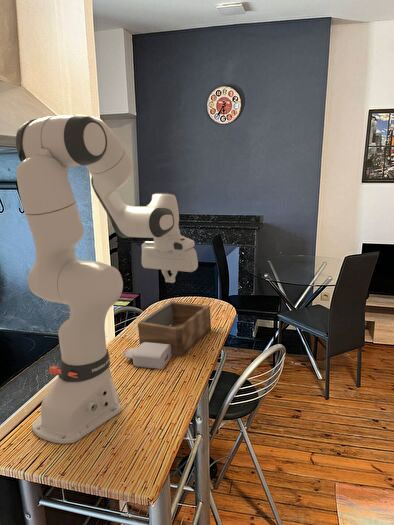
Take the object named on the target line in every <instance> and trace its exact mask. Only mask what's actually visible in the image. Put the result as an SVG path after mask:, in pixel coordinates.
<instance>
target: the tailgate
mask: <svg viewBox="0 0 394 525" xmlns="http://www.w3.org/2000/svg"><path fill="white" fill-rule="evenodd" d="M140 321H141V322H148V323H154V324H160V325H166V326H171V324H173V313H172V303H170V302H168V303H166V304H165V305H163V306H162V307H160V308H158V309H157V310H155V311H153V312H152V313H151V314H149V315H148V316H146V317H144V318H142V319H141V320H140Z"/></svg>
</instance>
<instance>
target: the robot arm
mask: <svg viewBox="0 0 394 525" xmlns="http://www.w3.org/2000/svg"><path fill="white" fill-rule="evenodd" d="M15 146H16V151H17V153H18V154H17V157H18V159H19V162H20V163H19V164H18V165H17V167H16V171H15V175H16V182H17V183H16V184H17V188H18V193H19V194H18V195H19V199H20V202H21V206H22V208H23V211H24V214H25V218H26V220H27V223H28V226H29V229H30V232H31V236H32V239H33V243H34V246H35V262H34V264H32V267H31V268H30V270H29V271H28V272H29V273H28V276H27V283H28V287H29V288H28V289H29V290H30V291H31V293H32V294H34V296H37V297H38V298H40V299H42V300H45V301H48V302H50V303H57V304H62V305H67V306H68V308H69V318H68V319H66V320H65V321H64V322H63V323H62V324H61V326H59V329H58V333H57V335H58V340H59V341H58V342H59V347H60V348H59V349H60V355H61V358H60V362H59V366H55V365H52V366H50V368H49V371H48V372H49V374H50V375H54V376H58V377H57V378H56V379H55V381H54V383H53V384H52V386H51V387H50V389H49V391H48V393H46V394H45V395H46V396H45V397H44V398H43V400H42V402H41V405H40V416H39V417H38V418H37V419H36V420H35V421H34V422H33V423H32V425H31V429H32V432H33V434H34V435H36V436H37V437H38V438H41V439H43V440H45V441H48V442H50V443H51V442H52V443H55V444H56V443H57V444H65V445H66V444H73V443H76V442H79V440H81V439H82V438H84V437H85V436H86V435H88V434H90V433H91V432H93V431H94V430H96V429H97V428H99V427H100V426H101V425H103V424H104V423H106V422H107V421H109V420H111V419H112V418H113V417H115V416H116V415H117V414H119V413H120V412H122V406H121V403H120V396H119V393H118V392H117V389H116V387H115V383H114V379H113V376H112V373H111V372H112V371H111V369H110V366H111V358H110V357H111V356H110V353H109V349H107V342H106V331H105V329H106V328H105V327H106V326H105V325H106V317H107V314H108V312H109V310H110V309H111V307H112V306H114V305H115V304H116V303H117V302H118V301H119V299H120V297H121V296H122V292H123V289H124V281H123V277H122V274H121V272H120V271H119V270H118V269H117V268H116V267H114V266H113V265H110V264H106V263H103V262H100V261H93V260H81V259H78V257H77V255H76V249H75V248H76V245H77V244H78V243H79V242H80V241H81V240H82V238H83V236H84V226H83V225H84V224H83V221H82V219H81V216H80V212H79V208H78V204H77V202H76V198H75V195H74V191H73V189H72V186H71V184H70V182H69V177H68V175H69V174H68V173H69V169H70V168H72V167H78V166H84V167H85V169H86V170H87V171H88V173H89V174H90V176H91V178H90V180H91V181H90V182H91V187H92V189H93V192H94V194H95V195H96V198H97V199H98V200H99V203H100V204H101V206H102V208H103V209H104V211H105V213H106V215H107V216H108V218H109V220H110V223H111V226H112V229H113V231H114V232H115V234H116V235H117V236H118V237H120V238H123V239H126V238H127V239H128V238H142V239H144V238H145V239H146V238H147V239H149V238H150V239H153V241H149V240H145V241H144V242H143V243H142V244H141V266H142V267H143V268H144V269H153V270H161V273H162V275H163V277H164V282H165V283H170V284H174V283H175V282H176V276H177V274H178V272H187V273H193V272H195V271H196V270H197V269H198V267H199V262H198V254H197V250H196V249H195V248H194V247H195V240H193V239H191V238H188V237H185V236H183V235H181V230H180V227H179V223H180V214H179V211H180V210H179V205H178V201H177V197H176V195H175V194H173V193H170V192H155V193H152V195H151V201H150V202H149V204H146V206H142V205H141V206H136V205H135V206H132V205H128V204H126V203H124V202H123V200H122V197H121V196H120V194H119V192H118V190H120V189H121V188H123V187H124V186H125V185H126V184H127V183H128V181H129V180H130V178H131V176H132V173H133V170H134V169H133V166H134V165H133V161H132V159H131V156H130V155H129V153H128V151H127V149H126V148H125V146H124V145H123V143H122V142H121V140H120V139H119V138H118V137H117V135H116V134H115V133H114V131H113V130H112V129H111V128H110V127H109V126H108V125H107V124H106V123H105V122H104V121H103V120H102V119H100V118H98V117H95V116H90V115H86V114H74V115H52V116H45V117H42V118H36V119H29V121H26V122H24V123H23V124H22V125H20V126H19V127H18V129H17V132H16V135H15ZM169 271H170V273H171V275H169Z"/></svg>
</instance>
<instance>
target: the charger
mask: <svg viewBox="0 0 394 525" xmlns="http://www.w3.org/2000/svg"><path fill="white" fill-rule="evenodd" d="M120 353H121V355H124V358H125V359H132V362H133V363H132V364H133V366H134V367H139V368H149V369H157V370H162V369H163V368H164V367H165V366H166V364H167V363H168V362H169V360H170V359H171V357H172V353H171V344H161V343H149V342H144V343H142V344H141V345H140V344H139V346H138V347H136V348H134V347H130V348H129V349H128V350H126V349H124V350H123V352H120Z"/></svg>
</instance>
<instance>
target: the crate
mask: <svg viewBox="0 0 394 525" xmlns="http://www.w3.org/2000/svg"><path fill="white" fill-rule="evenodd" d="M169 303H172V313H173V324H171V325H170V326H166V325H160V324H154V323H148V322H141V320H140V321H139V322H137V328H138V338H139V339H138V340H139V346H140V345H141V344H142V343H144V342H149V343H161V344H171V353H172V355H171V357H172V356H173V357H178V358H184V357H185V355H186V354H187V353H189V351H191V350H192V349H193V348H194V347H195V346H196V345H197V344H199V342H200V341H202V339H204V338H205V337H206V336H207V335H208V334H209V333H210V332H211V331H212V323H211V320H212V319H211V306H210V305H205V304H197V303H190V302H189V303H188V302H183V301H175V300H171V301H170V302H169Z"/></svg>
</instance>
